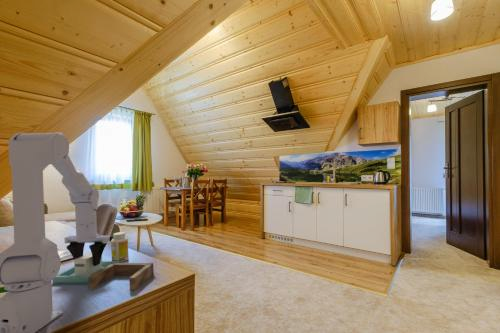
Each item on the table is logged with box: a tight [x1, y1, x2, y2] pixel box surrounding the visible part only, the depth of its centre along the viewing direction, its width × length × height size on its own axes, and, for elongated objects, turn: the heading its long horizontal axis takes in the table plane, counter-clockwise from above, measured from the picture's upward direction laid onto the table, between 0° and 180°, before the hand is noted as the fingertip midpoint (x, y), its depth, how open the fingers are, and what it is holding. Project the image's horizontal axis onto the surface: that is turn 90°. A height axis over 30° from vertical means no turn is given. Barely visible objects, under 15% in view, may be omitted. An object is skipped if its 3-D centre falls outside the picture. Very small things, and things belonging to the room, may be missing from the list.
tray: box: [52, 260, 119, 285], centre depth 82 cm, size 13×13×2 cm
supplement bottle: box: [110, 231, 129, 263], centre depth 93 cm, size 6×6×10 cm
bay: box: [88, 262, 155, 291], centre depth 76 cm, size 10×14×4 cm
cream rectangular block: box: [73, 251, 103, 276], centre depth 82 cm, size 8×4×6 cm, turn 173°
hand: (88, 264), depth 82 cm, fingers open, 6 cm apart
